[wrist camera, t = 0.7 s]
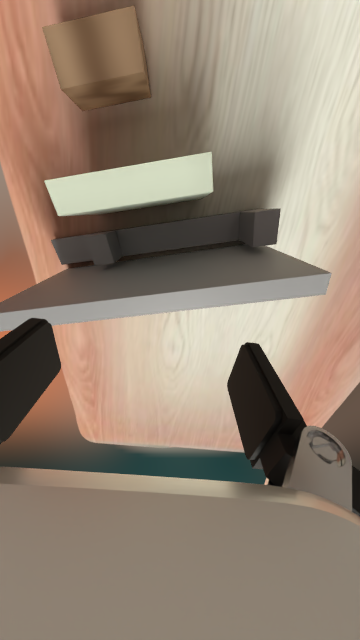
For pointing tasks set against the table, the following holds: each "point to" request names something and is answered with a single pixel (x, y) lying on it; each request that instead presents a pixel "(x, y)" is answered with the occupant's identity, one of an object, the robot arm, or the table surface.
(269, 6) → the table surface
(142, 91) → the walnut block
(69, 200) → the door
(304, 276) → the grey upright panel
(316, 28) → the table surface
